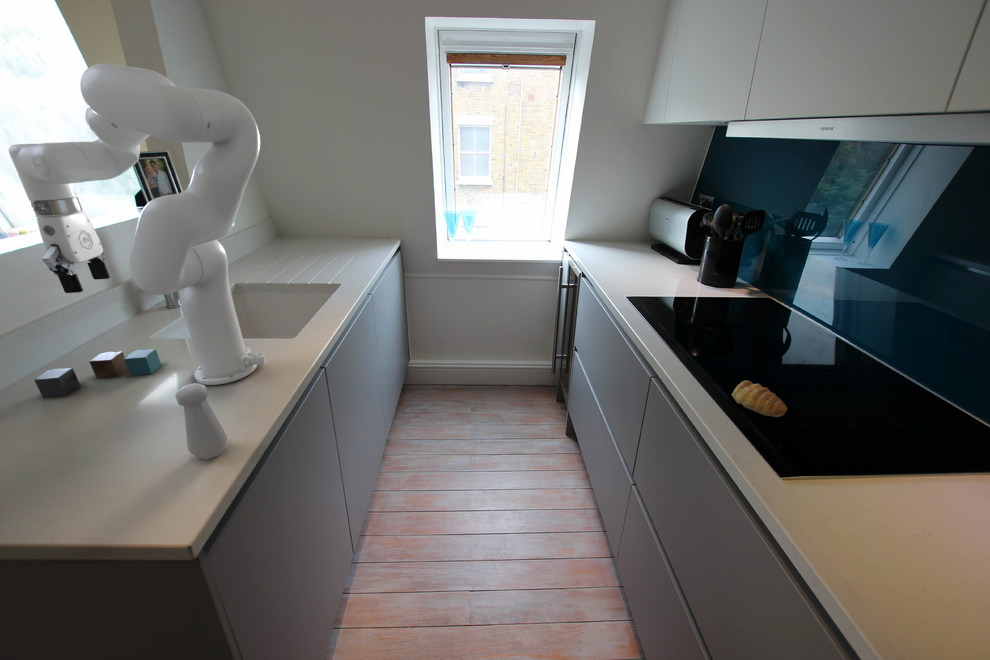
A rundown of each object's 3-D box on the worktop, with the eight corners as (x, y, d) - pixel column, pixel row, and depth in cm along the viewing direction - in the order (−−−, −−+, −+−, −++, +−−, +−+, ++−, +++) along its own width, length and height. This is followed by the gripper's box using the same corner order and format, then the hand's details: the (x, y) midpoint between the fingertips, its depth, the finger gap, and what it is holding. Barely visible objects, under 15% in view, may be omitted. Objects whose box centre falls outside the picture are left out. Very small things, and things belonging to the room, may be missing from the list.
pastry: (792, 412, 87) (797, 396, 85) (773, 423, 84) (778, 407, 82) (746, 390, 94) (750, 375, 92) (726, 400, 91) (730, 384, 89)
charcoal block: (80, 385, 98) (72, 367, 96) (66, 395, 94) (57, 377, 92) (58, 386, 97) (49, 369, 95) (42, 397, 93) (33, 379, 91)
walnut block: (129, 367, 105) (122, 351, 103) (117, 376, 101) (111, 359, 99) (108, 369, 104) (101, 352, 102) (96, 378, 100) (88, 361, 98)
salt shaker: (212, 465, 74) (189, 399, 68) (183, 461, 75) (158, 395, 69) (237, 443, 79) (218, 380, 74) (210, 439, 80) (189, 377, 75)
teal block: (161, 365, 106) (155, 348, 104) (151, 374, 102) (145, 357, 100) (141, 366, 105) (135, 350, 103) (130, 375, 101) (123, 358, 99)
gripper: (48, 213, 86) (83, 296, 93) (102, 201, 101) (128, 273, 108) (3, 215, 84) (41, 299, 91) (65, 202, 100) (94, 275, 107)
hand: (88, 285), depth 100 cm, fingers open, 9 cm apart
